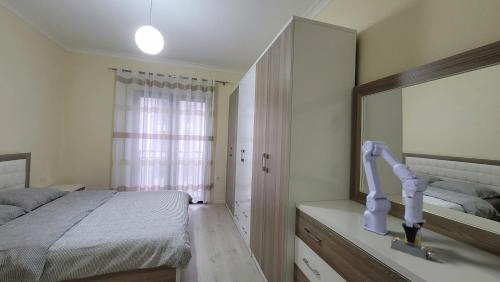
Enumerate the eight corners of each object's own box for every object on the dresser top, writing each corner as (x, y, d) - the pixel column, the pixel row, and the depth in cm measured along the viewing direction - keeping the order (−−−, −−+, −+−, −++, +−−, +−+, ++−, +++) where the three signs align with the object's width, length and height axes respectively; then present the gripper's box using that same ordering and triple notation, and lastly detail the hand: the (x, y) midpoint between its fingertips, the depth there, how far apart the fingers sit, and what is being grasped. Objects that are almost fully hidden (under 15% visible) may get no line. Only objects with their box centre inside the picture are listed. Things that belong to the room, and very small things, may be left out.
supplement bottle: (413, 250, 86) (414, 226, 86) (401, 244, 91) (402, 221, 91) (424, 250, 86) (425, 226, 87) (412, 243, 92) (413, 221, 92)
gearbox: (391, 247, 87) (391, 239, 87) (393, 245, 90) (393, 237, 90) (434, 262, 77) (434, 253, 77) (435, 259, 80) (435, 250, 80)
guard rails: (391, 244, 90) (391, 241, 90) (396, 239, 95) (396, 236, 95) (429, 257, 81) (429, 254, 81) (432, 250, 86) (433, 247, 86)
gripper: (422, 213, 81) (421, 249, 81) (429, 206, 91) (427, 238, 91) (400, 208, 86) (399, 242, 86) (408, 202, 96) (407, 232, 96)
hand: (412, 239), depth 89 cm, fingers open, 7 cm apart
